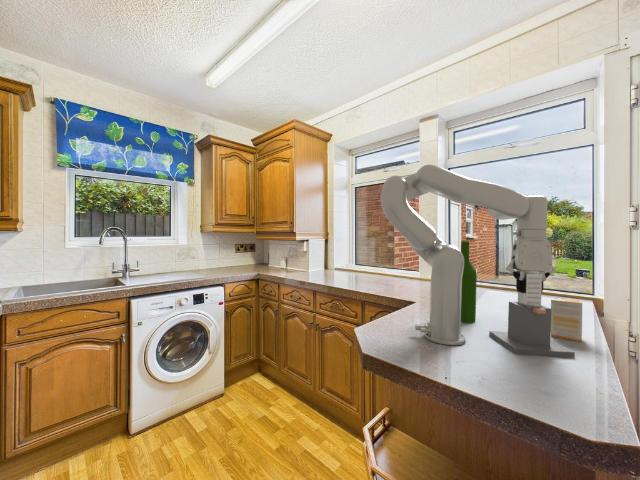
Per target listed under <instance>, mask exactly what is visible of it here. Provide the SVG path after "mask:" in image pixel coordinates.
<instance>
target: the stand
mask: <svg viewBox="0 0 640 480" xmlns="http://www.w3.org/2000/svg"><path fill="white" fill-rule="evenodd" d="M507 313H508V314H507V315H508V317H507V320H508V321H507V331H499V330H489V331H488V332H489V333H488V334H489V336H490V337H491V338H492V339H494V340H495V341H496V342H498V343H500V344H501V345H502V346H504V347H505V348H506V349H508V350H509V351H510V352H512V353H513V354H514V355H524V356H525V355H527V356H542V357H558V358H559V357H561V358H575V357H576V356H575V355H576V354H575V353H576V352H575V351H573V350H572V349H569V348H568V347H565V346H563V345H562V344H560V343H558V342H555V341H554V340H552V339H551V338H552V336H551V307H548V306H546V305H542V304H541V307H524V306H522V305H519V304H518V301H511V300H510V301H508V312H507Z"/></svg>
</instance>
